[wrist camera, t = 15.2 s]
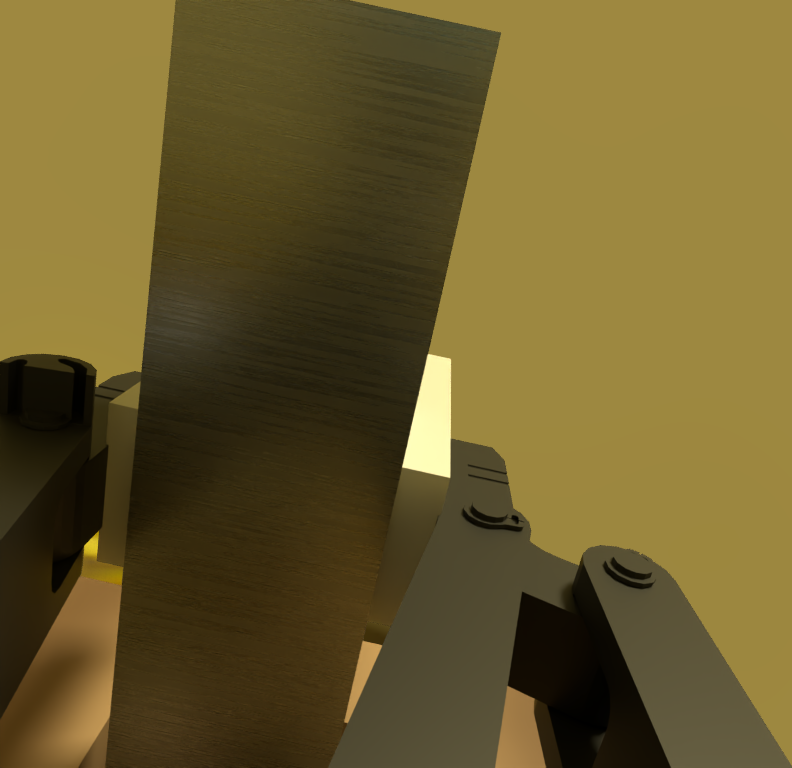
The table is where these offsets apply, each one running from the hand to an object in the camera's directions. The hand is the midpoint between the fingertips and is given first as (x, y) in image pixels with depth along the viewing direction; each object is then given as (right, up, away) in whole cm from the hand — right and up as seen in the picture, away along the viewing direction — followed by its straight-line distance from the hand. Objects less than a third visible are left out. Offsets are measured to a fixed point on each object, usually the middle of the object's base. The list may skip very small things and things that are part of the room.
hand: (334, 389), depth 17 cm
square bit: (-2, -10, -2) cm, 10 cm away
